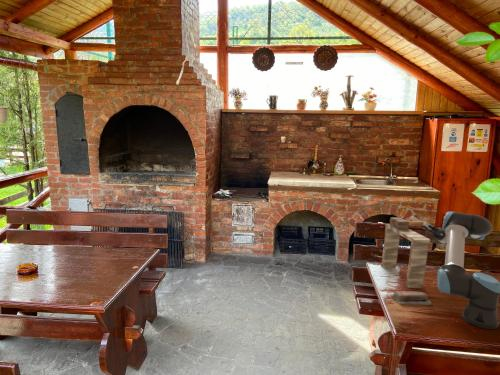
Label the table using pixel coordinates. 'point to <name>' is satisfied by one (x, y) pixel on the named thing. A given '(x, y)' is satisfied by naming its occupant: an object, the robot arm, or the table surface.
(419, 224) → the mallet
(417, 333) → the table surface
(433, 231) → the robot arm
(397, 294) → the packaged product
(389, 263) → the frame
